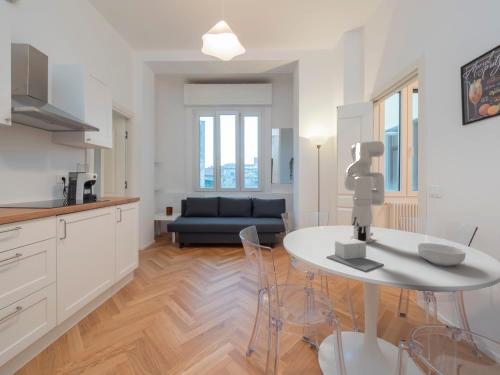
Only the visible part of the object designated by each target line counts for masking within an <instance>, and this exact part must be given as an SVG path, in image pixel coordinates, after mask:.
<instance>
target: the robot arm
mask: <svg viewBox="0 0 500 375" xmlns="http://www.w3.org/2000/svg"><path fill="white" fill-rule="evenodd" d="M384 154H385V145H384V142H382V141H377V140H376V141H374V140H373V141H362V142H359V143H355V144H353V145H352V146H351V148H350V155H351V157H352V160H353V162H352V163H351V164H350V165H349V166H348V167H347V169H346V170H345V173H344V188H345V189H346V190H347V191H349V192H351V191H353V192H352V195H351V196H352V197H351V198H352V204H353V206H352V209H351V210H352V211H351V221H350V222H351V224H350V225H351V226H353V228H352V230H353V231H352V232H353V233H352V236H350V240H352V239H357V240H360V241H363V242H366V244H367V243H368V244H371V243H372V242H373V241H374V239H373V238H372V237H373V236H374V233H373V232H371V225H372V222H373V213H372V212H373V210H372V207H373V206H377V207H380V206H383V205H384V204H385V177H384V174H383V173H382V172H379V171H378V172H375V171H374V172H373V171H371V167H372V165H373V158H378V157H379V158H380V157H383V156H384Z"/></svg>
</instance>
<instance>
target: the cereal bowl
mask: <svg viewBox="0 0 500 375" xmlns="http://www.w3.org/2000/svg"><path fill="white" fill-rule="evenodd" d="M417 247H418V248H417V249H418V251H417V252H418V254H419V255H420V256H421V257H422V258H423V259H425V260H427V261H429V262H430V263H431V264H433V265H437V266H441V267H451V266H454V265H455V266H456V265H459V264H462V263H463V262H464V261H465V259H466V254H467V252H466V251H465V250H464V249H461V248H459V247H455V246H452V245H447V244H441V243H440V244H439V243H432V242H431V243H429V242H428V243H427V242H425V243H424V242H423V243H419V244H418V245H417Z"/></svg>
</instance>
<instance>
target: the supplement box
mask: <svg viewBox="0 0 500 375" xmlns="http://www.w3.org/2000/svg"><path fill="white" fill-rule="evenodd" d="M334 254H335V255H336V256H338V257H340V258H342V259H344V260H346V259H354V258H362V257H363V258H366V257H367V243H366V242H363V241H360V240H357V239H352V240H351V239H343V240H335V241H334Z"/></svg>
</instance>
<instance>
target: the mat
mask: <svg viewBox="0 0 500 375" xmlns="http://www.w3.org/2000/svg"><path fill="white" fill-rule="evenodd" d="M326 258H327V259H328V258H329V260H332V261H335V262H336V263H340V264H343V265H345V266H348V267H350V268H353V269H356V270H359V271H362V272H363V273H367V272H370V271H372V270H375V269H377V268H380V267H383V266H384V263H382V262H379V261H375V260H374V259H373V260H372V259H369V258H366V257H362V258H354V259H346V260H344V259H342V258H340V257H338V256H336V255H335V253H334V254H331V255H329V256H328V255H327V256H326Z"/></svg>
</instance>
